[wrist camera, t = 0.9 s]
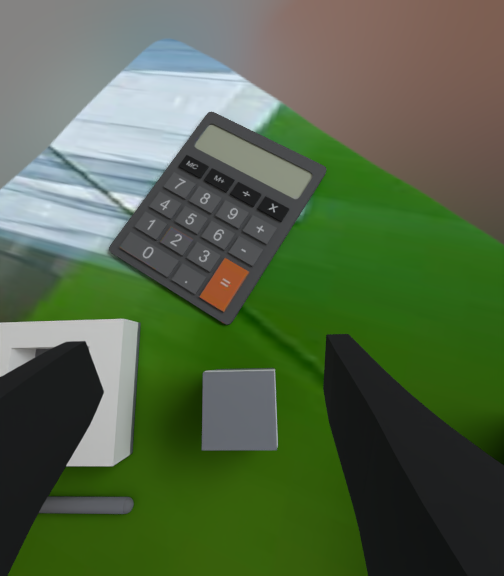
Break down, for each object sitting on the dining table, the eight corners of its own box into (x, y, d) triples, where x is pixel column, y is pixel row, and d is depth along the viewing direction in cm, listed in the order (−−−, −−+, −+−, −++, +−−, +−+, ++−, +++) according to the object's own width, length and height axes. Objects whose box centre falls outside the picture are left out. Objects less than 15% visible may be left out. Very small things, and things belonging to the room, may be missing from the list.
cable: (135, 512, 20) (129, 519, 19) (-10, 510, 21) (-23, 517, 20) (136, 492, 20) (130, 498, 19) (-8, 491, 21) (-20, 497, 20)
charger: (276, 429, 21) (277, 451, 16) (217, 429, 21) (200, 451, 16) (274, 367, 22) (275, 370, 17) (217, 368, 22) (202, 371, 17)
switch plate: (132, 452, 21) (112, 466, 18) (-57, 453, 22) (-102, 466, 19) (140, 323, 23) (123, 318, 20) (-33, 328, 24) (-71, 324, 21)
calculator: (105, 249, 24) (209, 108, 26) (111, 253, 25) (211, 116, 27) (228, 326, 22) (328, 166, 24) (229, 327, 23) (326, 173, 25)
